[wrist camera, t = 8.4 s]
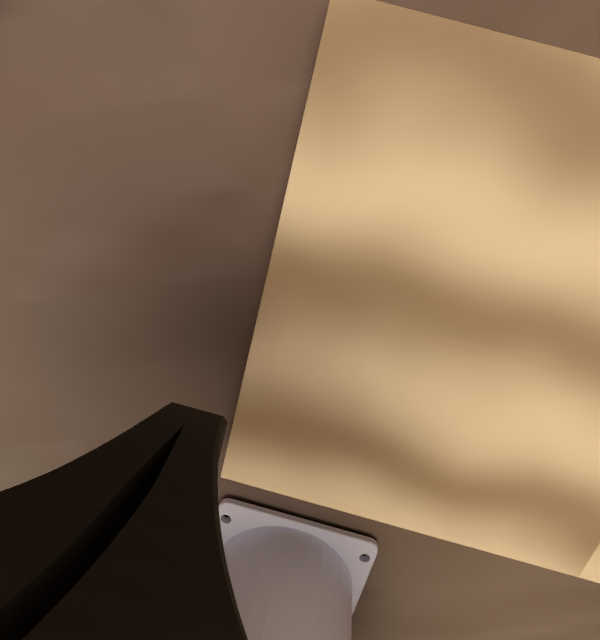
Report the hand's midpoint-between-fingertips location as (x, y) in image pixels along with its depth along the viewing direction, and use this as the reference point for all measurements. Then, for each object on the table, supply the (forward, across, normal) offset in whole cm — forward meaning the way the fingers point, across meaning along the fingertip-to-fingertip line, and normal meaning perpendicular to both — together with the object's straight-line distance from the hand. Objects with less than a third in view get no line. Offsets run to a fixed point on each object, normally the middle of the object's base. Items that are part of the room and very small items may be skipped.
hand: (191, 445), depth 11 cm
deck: (+10, -13, -2) cm, 16 cm away
